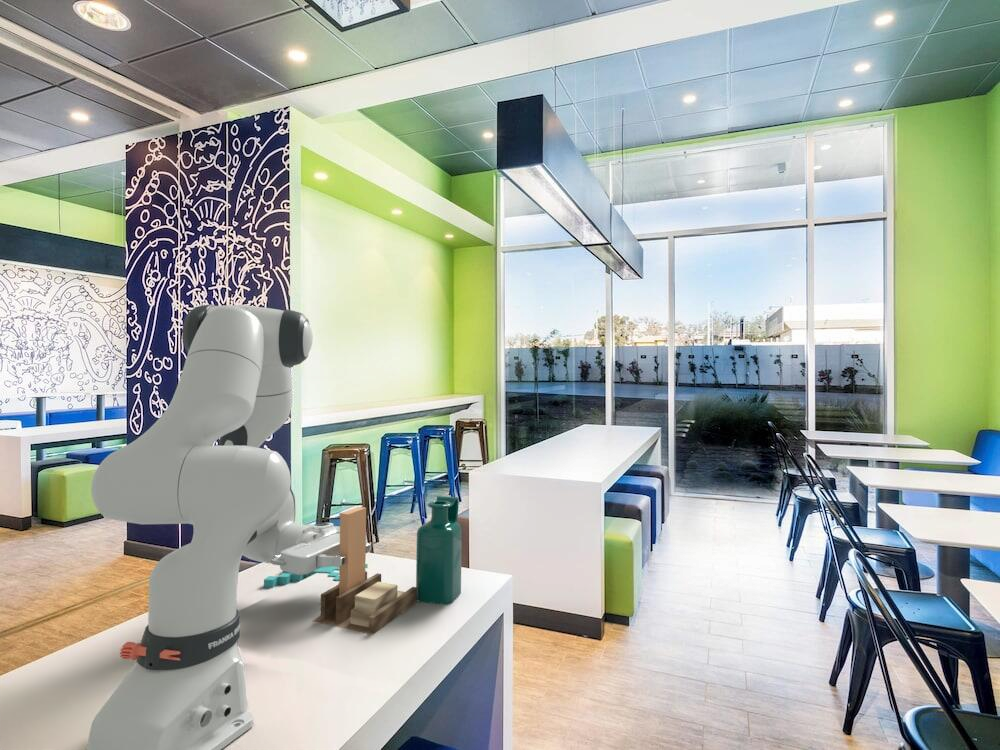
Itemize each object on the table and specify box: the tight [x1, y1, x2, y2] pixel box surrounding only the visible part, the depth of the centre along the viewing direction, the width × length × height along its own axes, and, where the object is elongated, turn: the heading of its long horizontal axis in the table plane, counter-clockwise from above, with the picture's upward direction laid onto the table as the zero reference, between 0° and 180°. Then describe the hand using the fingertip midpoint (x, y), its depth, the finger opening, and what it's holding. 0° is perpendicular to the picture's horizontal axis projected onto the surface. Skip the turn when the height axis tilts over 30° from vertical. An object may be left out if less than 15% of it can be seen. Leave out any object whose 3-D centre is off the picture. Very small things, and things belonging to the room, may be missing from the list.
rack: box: [312, 570, 418, 635], centre depth 113 cm, size 16×14×6 cm
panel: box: [338, 506, 367, 595], centre depth 114 cm, size 6×2×20 cm, turn 159°
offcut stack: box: [351, 581, 405, 627], centre depth 112 cm, size 12×5×5 cm, turn 159°
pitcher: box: [415, 495, 463, 606], centre depth 122 cm, size 10×8×22 cm
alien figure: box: [263, 563, 369, 588], centre depth 137 cm, size 20×2×20 cm
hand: (356, 554), depth 114 cm, fingers open, 8 cm apart
